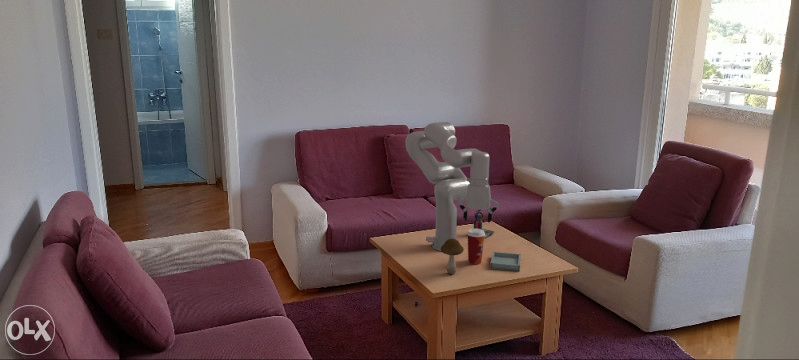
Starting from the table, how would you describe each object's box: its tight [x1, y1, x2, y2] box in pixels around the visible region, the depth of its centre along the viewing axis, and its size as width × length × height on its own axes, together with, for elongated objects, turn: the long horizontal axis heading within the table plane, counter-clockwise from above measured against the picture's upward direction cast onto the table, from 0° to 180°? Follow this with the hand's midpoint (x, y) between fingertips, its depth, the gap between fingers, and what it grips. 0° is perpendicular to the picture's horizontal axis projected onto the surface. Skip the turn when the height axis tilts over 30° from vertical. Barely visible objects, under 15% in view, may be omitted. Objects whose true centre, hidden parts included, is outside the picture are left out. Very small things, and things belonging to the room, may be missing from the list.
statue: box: [473, 209, 495, 240], centre depth 284 cm, size 11×9×15 cm
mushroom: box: [440, 238, 465, 275], centre depth 237 cm, size 9×11×15 cm
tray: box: [489, 251, 522, 272], centre depth 249 cm, size 12×14×2 cm
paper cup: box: [466, 228, 485, 265], centre depth 249 cm, size 8×8×14 cm
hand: (477, 221), depth 247 cm, fingers open, 9 cm apart
